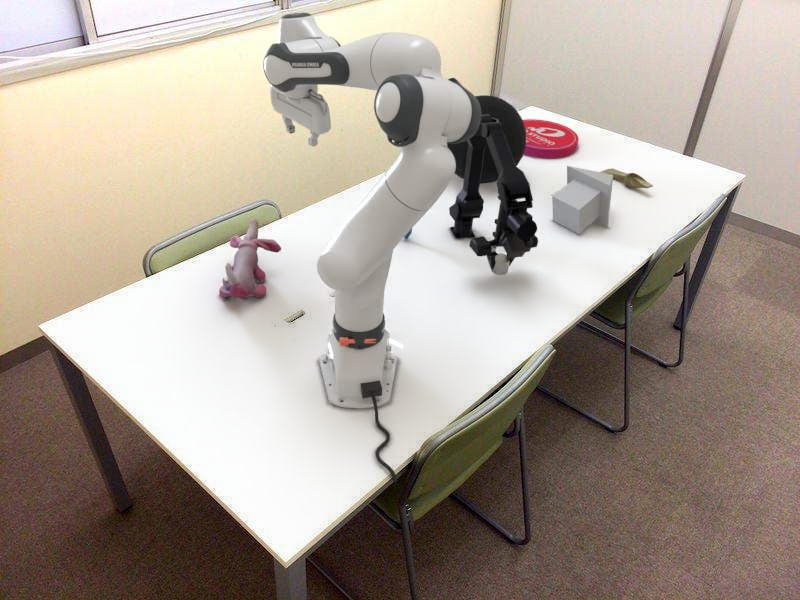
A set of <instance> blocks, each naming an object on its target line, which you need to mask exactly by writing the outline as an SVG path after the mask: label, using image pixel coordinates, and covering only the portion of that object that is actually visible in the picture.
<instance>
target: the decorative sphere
mask: <svg viewBox="0 0 800 600" xmlns="http://www.w3.org/2000/svg"><path fill="white" fill-rule="evenodd" d="M474 96H475V97H476V98H477V100H478V101H479V104H480V107H481V115H485V114H489V115H490V116H491V117H492V118H495V119H498V120H499V122H500V123H502V124H503V127H504V132H503V133H504V135H505V138H506V141H507V143H508V146H509V149H510V152H511V154H512V157H513V160H514V163H515V165H516V167H517V166H518V165H519V163H520V162H521V160H522V159H523V157H524V155H523V154H524V151H525V148H526V130H525V126H524V123H523V120H524V119H523V118H522V116H521V114H520V113H519V112H518V111H517V109H516V108H515V107H514V106H513V105H512V104H511V103H509V102H507V101H506V100H505V99H503V98H501V97H498V96H494V95H486V94H485V95H482V94H481V95H474ZM447 147H448V148H449V149H450V151H451V152H452V154H453V156H454V158H455V162H456V170H455V173H454V175H456V176H457V177H458V178H460V179H463V180H464V175H465V167H466V159H467V151H468V142H467V141H465V142H461V143H456V144H448V143H447ZM498 177H499V175H498V171H497V168H496V166H495V163H494V160H493V157H492V154H491V152H490V149H489V146H488V144H487V145H486V146H485V150H484V158H483V165H482V172H481V179H480V185H486V184H491V183H496V182H497V180H498Z"/></svg>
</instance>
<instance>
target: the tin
mask: <svg viewBox="0 0 800 600" xmlns="http://www.w3.org/2000/svg"><path fill="white" fill-rule="evenodd" d="M496 253H497V252H496ZM497 254H498V255H497V256H495V263H494V267H493V269H491V268H490V272H491V273H493V274H494V275H497V276H505V275H507V274H508V272H509V267H510V266H509V263H510V258H509V257H508V256H507V253H502V252H500V253H499V252H498V253H497Z"/></svg>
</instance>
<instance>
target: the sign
mask: <svg viewBox="0 0 800 600" xmlns="http://www.w3.org/2000/svg"><path fill="white" fill-rule="evenodd" d="M522 120H523V123H524V126H525V130H526V148H525V151H524V154H523V156H527V157H532V158H536V159H561V158H565V157H569V156H571V155H572V154H574V153H575V152H576V151H577V148H578V143H579V136H578V134H577V132H575V131H574V130H573V129H571V127H568V126H567V125H564V124H561V123H558V122H555V121H550V120H544V119H533V118H532V119H531V118H530V119H529V118H528V119H522Z"/></svg>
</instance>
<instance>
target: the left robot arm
mask: <svg viewBox="0 0 800 600" xmlns="http://www.w3.org/2000/svg"><path fill="white" fill-rule="evenodd" d="M262 66H263V67H262V68H263V73H264V75H265V78H266V79H267V81H268V83H269V85H270V87H269V94H270V96H269V97H270V104H271V107H272V109H273V111H275V112H276V113H277V114H280V115H281V116H282V117H281V118H282V120H283V123H284V125H285V130H286V131H285V132H287V133H288V134H290V135H291V134H294V133H295V132H296V126H295V125H294V122H295V123H296V124H298V125H300V126H302V127H304V128H306V129H308V131H309V133H310V137H308V138H307V141H308V145H309V146H311V147H316V146H318V144H319V142H318V141H319V140H318V139H319V137H320V135H324V134H326V133H329V132H330V131H331V129H332V124H331V113H330V108H329V107H330V106H329V104H328V102H327V101H326V99H325V98H324V95H322V94H320V93H318V92H319V85H326V86H339V87H348V88H355V89H364V90H370V91H376V93H375V96H374V101H373V110H374V115H375V117H376V120H377V122H378V124H379V127H380V128H381V130H382V131H383V132H384V134H386V138H387V141H388V142H389V143H390V144H391V145H392V146H394V147H397V148H400V152H399V155H398V157H397V158H395V161H393V162H392V164H391V165H390V167H389V168H388V169H387V170H386V171H385V172H384V174H383V175H382V176H381V178H380V179H379V180H378V181H377V182H376V184H375V185H374V186H373V188H371V190H370V191H369V193H368V194H367V195H366V196H365V198H363V200H362V201H361V202H360V203H359V204H358V205H357V207H356V208H355V209H354V210H353V211H352V212H351V214H350V215H349V216H348V217H347V219H346V220H345V221H344V222H343V223H342V225H341V226H340V227H339V228H338V229H337V231H336V232H335V233H334V234H333V236H332V237H330V239H329V240H328V241H327V242H326V244H325V246H324V247H323V249H322V251H321V253H320V254H319V257H318V259H317V261H316V262H317V263H316V270H317V273H318V276H319V277H320V279H321V281H322V282H323V283H324V284H325V285H326V286H327V287H328V288H330V289H332V290H333V291H334V313H333V317H332V329H331V330H330V331H329V332H328V333H327V334H326V335H327V339H326V340H327V345H326V346H327V350H326V351H327V353H325V354H323V355H321V356H320V357H319V366H320V370H321V374H322V378H323V382H324V387H325V390H326V391H325V392H326V394H327V400H328V402H329V404H332V405H334V406H337V407H340V408H345V409H371V408H373V410H374V422H375V424H376V427H377V428H378V429H379V430H380V431H381V432H383V433H384V434H385V436H386V437H385V440H384V441H383V442H382V443H381V444H380V445H379V446H378V447H376V450H375V459H376V461H377V462H378V463H379V464H380V465H381V466H383V467H384V468H385V469H386V470H387V471H388V472H389V473H390V475H391V478H392V480H393V483H398V478H397V475H396V472H395V471H394V469H393V468H392V467H391V466H390V464H388V463H386V461H384V460H383V459H382V458H381V455H380V451H382V449H383V448H384V447H386V445H388V443H389V442H390V439H391V434H390V432H389V431H388V430H387V429H386V428H384V427H383V425H382V424H381V423H380V419H379V408H378V407H381V406H383V405H387V404H388V403H389V402H390V401H391V396H392V391H393V386H394V382H395V381H394V380H395V376H396V370H397V364H398V357H397V356H396V355H395V354H393V353H391V352H392V345H394V346H396V347H399V348H400V349H403V347H404V345H403V344H401V343H399V342H397V341H396V340H393V339H392V338H391V334H390V332H389V331H387V330H386V318H385V313H384V303H385V290H386V285H387V280H388V277H389V272H390V268H391V264H392V259H393V253H394V250H395V248H396V247H397V246H398V245H399V244H400V242H401V241H402V240H404V239H405V235H406V234H407V233H408V232H409V231H410V230H411V229H412V230H413V228H414V227H415V226H416V224H417V223H418V222H419V221H421V219H422V218H423V217H424V216H425V214H427V213H428V211H429V210H430V209H431V208H432V207H433V206H434V205H435V204H436V202H437V201H438V200H439V198H440V197H441V196H442V195H443V194H444V192H445V190H447V187H448V186H449V184H450V183H451V180H452V179H453V177H454V175H455V174H454V173H455V170H456V162H455V158H454V156H453V154H452V152H451V151H450V149H449V148H448V147H447V143H448V144H456V143H461V142H465V141H467V140H469V139H470V138H472V137H473V136H474V134H475V133H476V132H477V130H478V128H479V125H480V122H481V107H480V104H479V101H478V100H477V98H476V97H475V96H476V95H475V94H473V93H472V92H471V91H470V90H468V89H467V88H466V87H465V86H463V85H462V84H461V82H460V81H459V80H458V79H457V78H455V77H451V78H446V77H444V76H443V73H442V71H441V70H442V69H441V68H442V57H441V54H440V51H439V49H438V47H437V45H436V44H435V43H434V42H433V41H432V40H430V39H429V38H427V37H424V36H420V35H418V34H414V33H413V34H412V33H408V32H407V33H406V32H395V31H394V32H393V31H392V32H391V31H390V32H389V31H388V32H380V33H376V34H373V35H369V36H366V37H363V38H360V39H358V40H357V39H356V40H355V41H353V42H349V43H346V44H343V45H341V44H340V43H339V41H338V40H336V39H335V38H334V37H332V36H328V34H326V33H325V32H324V31H323V30H322V29H321V28H320V27H319V26H318V24H317V23H316V20H315V17H314V15H312V14H311V13H309V12H294V13H288V14H284V15H282V16H281V17H280V18H279V20H278V29H277V42H276V43H272V44H271V45H270V47H269V48H268V49H267V51H266V52H265V55H264V58H263V62H262ZM390 344H392V345H390Z"/></svg>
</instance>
